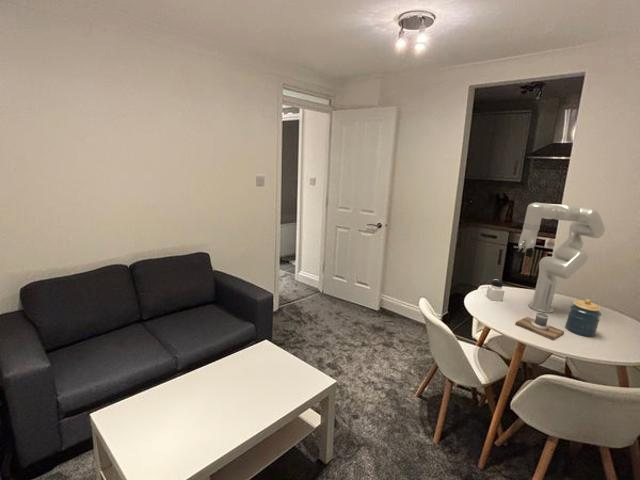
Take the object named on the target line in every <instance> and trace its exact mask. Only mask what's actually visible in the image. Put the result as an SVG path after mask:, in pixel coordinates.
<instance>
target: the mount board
mask: <svg viewBox="0 0 640 480" xmlns="http://www.w3.org/2000/svg"><path fill="white" fill-rule="evenodd" d="M515 326H518V327H520V328H523V329H525V330H528V331H530V332H532V333H535V334H537V335H539V336H542V337H543V338H545V339H549V340H551V341H554V340H556V339H558V338H560V337H561V336H563V335H564V334H565V331H564V330H562V329H559V328H557V327H554V326H551V325H549V323H547V324H546V326H540V325H537V324H536V323H535V319H533V318H532V317H529V316H526V317H524V318H522V319H519V320H517V321H516V322H515Z"/></svg>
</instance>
